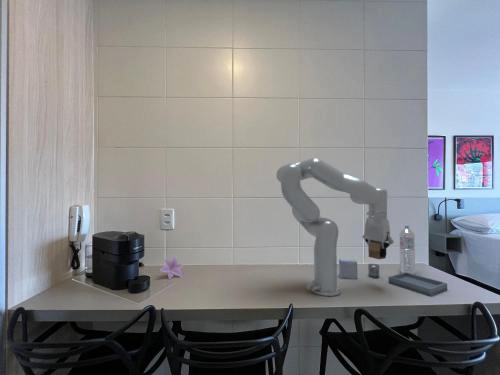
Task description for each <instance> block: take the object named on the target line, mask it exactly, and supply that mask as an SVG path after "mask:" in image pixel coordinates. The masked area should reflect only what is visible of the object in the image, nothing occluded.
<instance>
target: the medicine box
mask: <svg viewBox="0 0 500 375" xmlns="http://www.w3.org/2000/svg"><path fill="white" fill-rule="evenodd" d="M338 272H339V273H338V275H339V277H340V279H351V280H352V279H355V280H357V279H358V261H357V260H355V259H349V258H347V259H345V258H342V259H341V258H339V259H338Z"/></svg>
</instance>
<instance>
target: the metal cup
mask: <svg viewBox="0 0 500 375" xmlns="http://www.w3.org/2000/svg"><path fill="white" fill-rule="evenodd" d="M367 266H368V271H367V272H368V273H367V274H368V278H371V279H379V278H380V265H379V264H377V263H368V264H367Z"/></svg>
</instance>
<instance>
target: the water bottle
mask: <svg viewBox="0 0 500 375" xmlns="http://www.w3.org/2000/svg"><path fill="white" fill-rule="evenodd" d="M409 228H410V226H409V225H404V228H403V229H402V230H401V231H400V232H399V271H400V273H404V272H407V273H411V274H415V273H416V259H415V257H416V256H415V255H416V254H415V252H416V250H415V237H416V236H415V233H414V232H413V231H412V230H411V229H409ZM415 275H416V274H415Z"/></svg>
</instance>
